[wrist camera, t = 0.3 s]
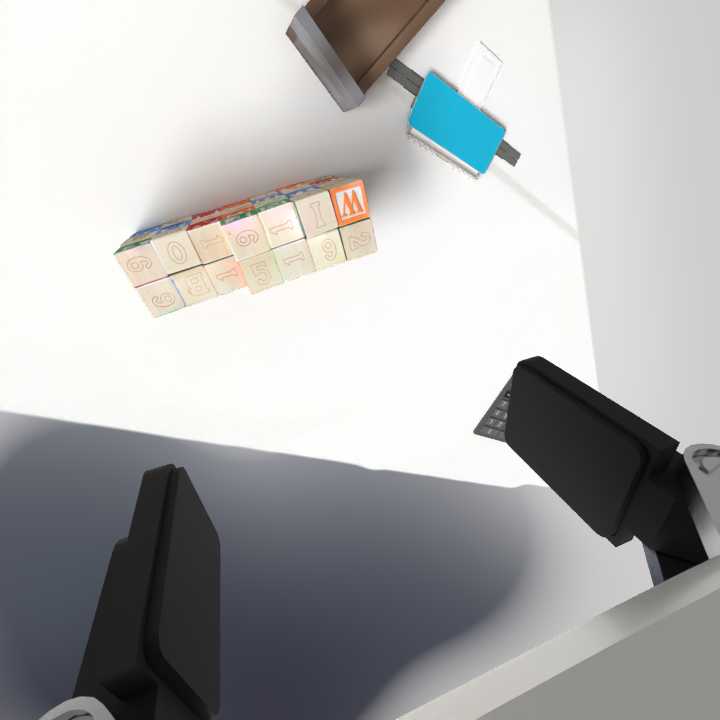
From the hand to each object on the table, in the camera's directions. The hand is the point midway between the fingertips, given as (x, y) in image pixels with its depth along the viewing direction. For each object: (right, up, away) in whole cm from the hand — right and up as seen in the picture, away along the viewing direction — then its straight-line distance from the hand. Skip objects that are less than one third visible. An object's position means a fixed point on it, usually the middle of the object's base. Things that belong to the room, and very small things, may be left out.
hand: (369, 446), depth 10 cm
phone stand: (+11, +31, +32) cm, 46 cm away
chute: (+2, +37, +24) cm, 44 cm away
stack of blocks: (-13, +17, +30) cm, 37 cm away
